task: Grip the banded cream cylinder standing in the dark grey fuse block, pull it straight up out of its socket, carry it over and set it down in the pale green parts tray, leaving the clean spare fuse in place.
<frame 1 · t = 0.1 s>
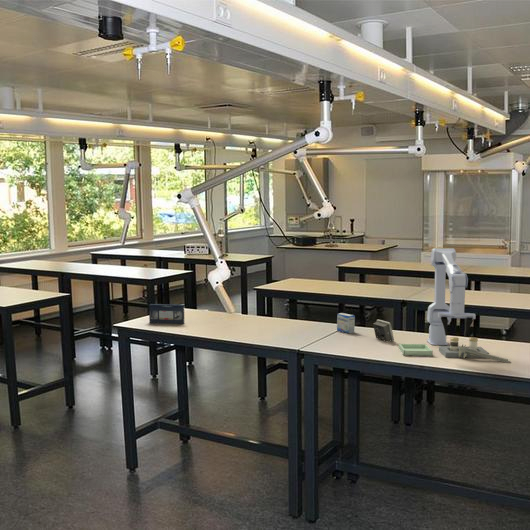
hand: (455, 335, 248), 10 cm above the table, tool pointing down, fingers open, 7 cm apart
electrical switch: (383, 340, 282), on the table
banded cream cylinder: (453, 354, 257), resting in fuse block
medicine box: (345, 331, 299), on the table
fuse block: (463, 354, 257), on the table
spare fuse: (472, 354, 257), resting in fuse block
parts tray: (415, 352, 260), on the table
caliper: (484, 361, 248), on the table
vhs cassette tape: (166, 323, 317), on the table
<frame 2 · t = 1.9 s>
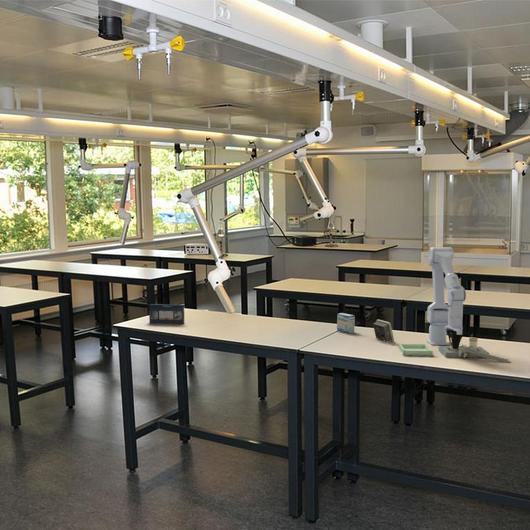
hand: (454, 347, 257), 3 cm above the table, tool pointing down, fingers closed on banded cream cylinder, 3 cm apart
banded cream cylinder: (453, 354, 257), resting in fuse block, touching gripper
everything else where it was.
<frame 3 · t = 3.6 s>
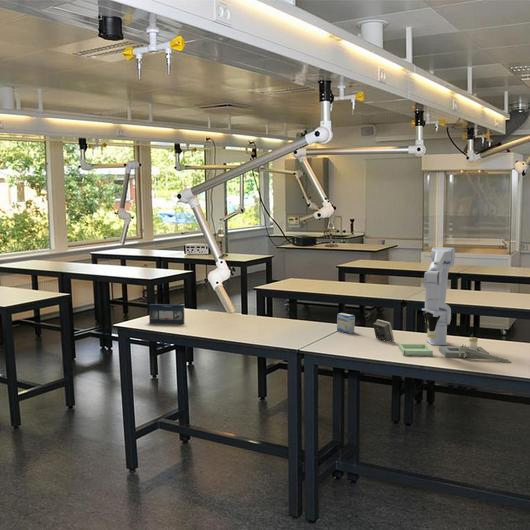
hand: (430, 330, 258), 10 cm above the table, tool pointing down, fingers closed on banded cream cylinder, 3 cm apart
banded cream cylinder: (431, 336, 258), point 7 cm above the table, touching gripper
everything else where it was.
when the fingers open (5 cm above the table, at t = 5.3 s): banded cream cylinder drops 1 cm, resting on parts tray.
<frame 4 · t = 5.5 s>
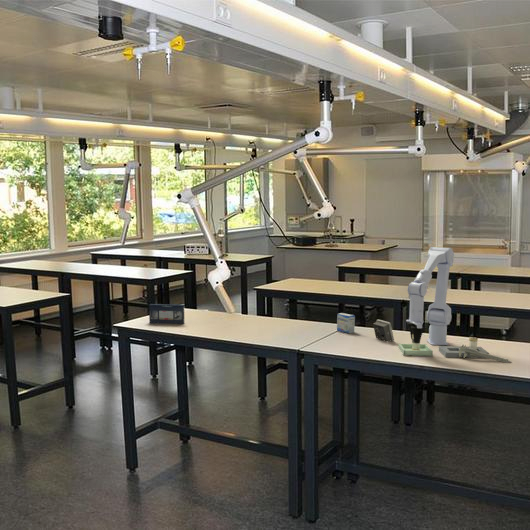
hand: (415, 341, 259), 5 cm above the table, tool pointing down, fingers open, 5 cm apart
banded cream cylinder: (415, 350, 260), point 1 cm above the table, touching parts tray
everything else where it was.
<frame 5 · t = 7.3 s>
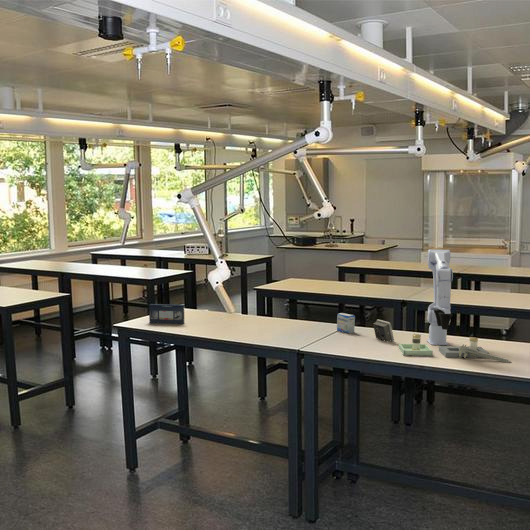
hand: (442, 327, 261), 10 cm above the table, tool pointing down, fingers open, 7 cm apart
nothing on the table moved.
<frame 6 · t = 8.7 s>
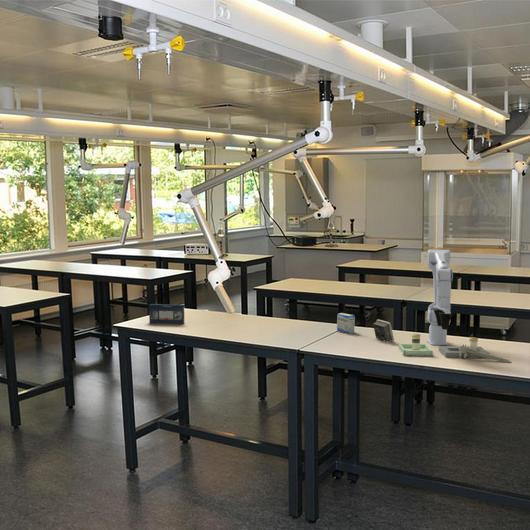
hand: (442, 327, 261), 10 cm above the table, tool pointing down, fingers open, 7 cm apart
nothing on the table moved.
at the end: banded cream cylinder inside the target area on the parts tray (0.3 cm from its centre), point 0.7 cm above the parts tray's base; the gripper is holding nothing; spare fuse moved 0.0 cm from its start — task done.
